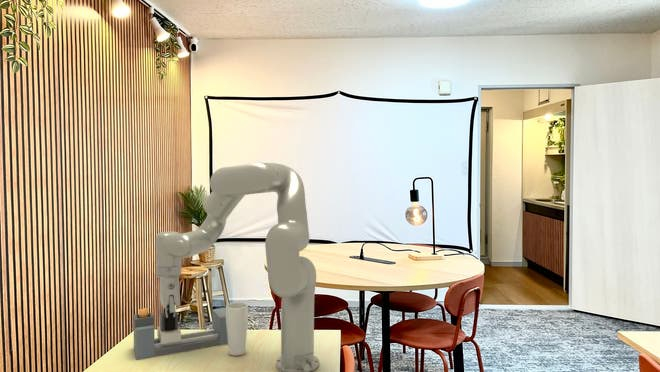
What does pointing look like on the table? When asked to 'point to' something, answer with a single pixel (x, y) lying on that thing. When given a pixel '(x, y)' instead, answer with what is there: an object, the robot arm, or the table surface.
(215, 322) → the rail track
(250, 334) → the table surface
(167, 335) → the carriage
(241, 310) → the drinking glass
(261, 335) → the table surface
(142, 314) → the button
